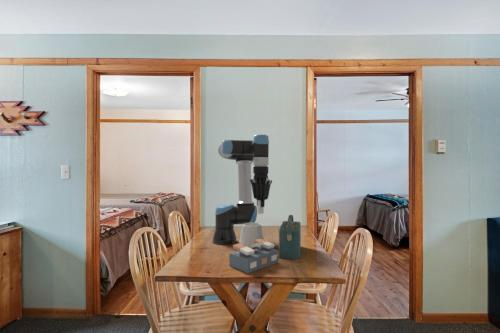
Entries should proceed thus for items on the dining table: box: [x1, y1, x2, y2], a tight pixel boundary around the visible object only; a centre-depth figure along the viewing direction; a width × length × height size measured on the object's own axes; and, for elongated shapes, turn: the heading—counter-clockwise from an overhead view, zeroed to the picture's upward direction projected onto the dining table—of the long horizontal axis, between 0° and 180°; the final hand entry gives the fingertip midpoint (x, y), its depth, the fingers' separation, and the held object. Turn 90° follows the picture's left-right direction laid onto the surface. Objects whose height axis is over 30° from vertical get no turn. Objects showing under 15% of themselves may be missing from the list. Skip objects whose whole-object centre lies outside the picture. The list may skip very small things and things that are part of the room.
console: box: [228, 246, 279, 274], centre depth 130 cm, size 13×21×8 cm, turn 134°
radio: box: [278, 214, 302, 260], centre depth 150 cm, size 26×11×20 cm, turn 168°
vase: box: [238, 222, 265, 246], centre depth 151 cm, size 14×14×15 cm
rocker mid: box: [247, 242, 264, 250], centre depth 130 cm, size 10×5×2 cm, turn 44°
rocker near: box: [232, 242, 255, 255], centre depth 125 cm, size 10×5×2 cm, turn 44°
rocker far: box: [254, 239, 275, 249], centre depth 135 cm, size 10×5×2 cm, turn 44°
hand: (260, 213), depth 134 cm, fingers closed
